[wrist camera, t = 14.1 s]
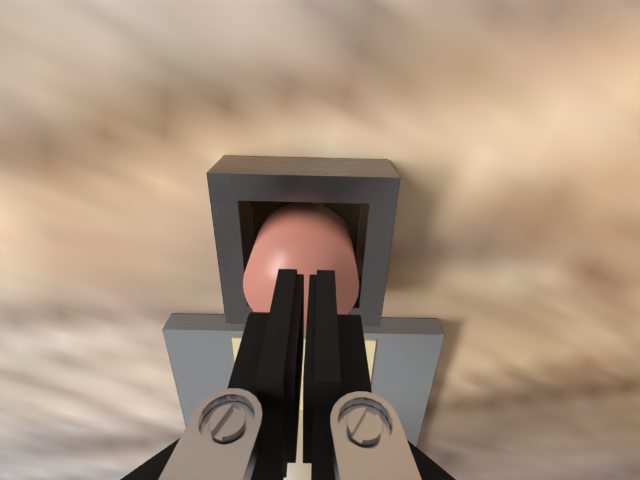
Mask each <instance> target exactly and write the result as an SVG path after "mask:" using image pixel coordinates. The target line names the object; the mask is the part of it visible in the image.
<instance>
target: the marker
mask: <svg viewBox="0 0 640 480" xmlns="http://www.w3.org/2000/svg"><path fill="white" fill-rule="evenodd" d="M284 480H311V463H303V410H299V425H298V439H297V454H296V463H288V465H287V476H286V478H284Z"/></svg>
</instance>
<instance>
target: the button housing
mask: <svg viewBox="0 0 640 480" xmlns="http://www.w3.org/2000/svg"><path fill="white" fill-rule="evenodd" d="M207 180H208V188H209V195H210V203H211V211H212V219H213V227H214V234H215V242H216V250H217V258H218V265H219V273H220V281H221V289H222V296H223V304H224V312H225V320H226V324H246V322H247V318H248V315H249V313H250V312H254V311H253V310H252V309H251V307H250V306H249V304H248V302H247V300H246V297H245V294H244V290H243V277H244V273H245V270H246V267H247V264H248V261H249V258H250V255H251V252H252V250H253V247H254V230H253V216H252V202H251V201H279V202H322V203H360V212H359V224H358V236H357V247H356V259H355V262H356V268H357V273H358V279H359V292H358V297H357V300H356V302H355V304H354V306H353V308H352V309H351V311H350V312H349V313H348V314H350V315H360V316H361V320H362V326H378V327H380V323H381V316H382V308H383V301H384V294H385V287H386V279H387V272H388V265H389V257H390V250H391V243H392V235H393V228H394V221H395V214H396V206H397V199H398V192H399V184H400V176H399V175H398V173H397V172H396V171H395V169H394V168H393V166H392V165H391V163H390V162H389V160H388V159H348V158H308V157H268V156H229V155H224V156H223V157H222V158H221V159H220V160H219V161H218V162H217V163H216V164H215V165H214V166H213V167H212V168H211V169H210V170H209V171H208V172H207Z"/></svg>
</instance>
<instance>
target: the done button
mask: <svg viewBox="0 0 640 480" xmlns="http://www.w3.org/2000/svg"><path fill="white" fill-rule="evenodd" d="M279 269H297V274H304V332H306V324H307V308H308V292H309V276H310V274H315V275H317V270H335V281H336V300H337V314H348V313H349V312H350V311H351V309H352V308H353V306H354V304H355V302H356V300H357V297H358V292H359V279H358V273H357V268H356V262H355V256H354V251H353V245H352V239H351V235H350V232H349V230H348V227H347V226H346V224H345V222H344V221H343V220H342V219H341V218H340V217H339V216H338V215H337V214H336V213H335V212H333V211H332V210H330V209H328V208H326V207H324V206H322V205H319V204H314V203H307V202H300V203H292V204H289V205H285V206H283V207H281V208H279V209H277V210H275V211H274V212H273V213H271V214H270V215H269V216H268V217H267V218H266V219H265V221H264V222H263V224H262V226H261V228H260V230H259V233H258V235H257V238H256V241H255V244H254V247H253V250H252V252H251V255H250V258H249V261H248V264H247V267H246V270H245V273H244V277H243V290H244V294H245V297H246V300H247V302H248V304H249V306H250V307H251V309H252V310H253V311H254V312H270V308H271V303H272V298H273V293H274V288H275V284H276V279H277V274H278V270H279Z"/></svg>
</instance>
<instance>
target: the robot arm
mask: <svg viewBox="0 0 640 480" xmlns="http://www.w3.org/2000/svg"><path fill="white" fill-rule="evenodd" d="M303 349H304V274H297V269H279V270H278V274H277V279H276V284H275V288H274V293H273V298H272V303H271V308H270V312H250V313H249V315H248V318H247V322H246V325H245V329H244V332H243V336H242V339H241V342H240V346H239V349H238V353H237V356H236V360H235V363H234V367H233V370H232V374H231V377H230V381H229V384H228V388H227V389H225V390H220V391H218V392H216V393H214V394H212V395H210V396H208V397H207V398H206V399H205V400H204V401H202V402H201V403H200V405H199V406H198V407H197V409H196V410H195V411H194V413H193V415H192V417H191V419H190V421H189V423H188V424H187V426H186V428H185V430H184V432H183V434H182V436H181V438H179V439H178V440H177V441H175V442H174V443H172V444H171V445H169V446H168V447H167V448H165V449H164V450H162V451H161V452H159V453H158V454H156V455H155V456H154V457H152V458H151V459H149V460H148V461H146V462H145V463H144V464H142V465H141V466H139V467H138V468H136V469H135V470H134V471H132V472H131V473H129V474H128V475H126V476H125V477H123V478H122V479H121V480H284V478H286V476H287V465H288V463H296V454H297V439H298V425H299V410H300V395H301V380H302V365H303ZM303 463H311V480H455V479H454V478H453V477H452V476H451V475H449V474H448V473H447V472H446V471H444V470H443V469H442V468H441V467H440V466H438V465H437V464H436V463H435V462H434V461H432V460H431V459H430V458H429V457H428V456H426V455H425V454H424V453H423V452H421V451H420V450H419V449H418V448H417V447H415V446H414V445H413V444H412V443H411V442H409V441H408V440H407V439H406V436H405V433H404V430H403V428H402V425H401V422H400V420H399V417H398V415H397V413H396V411H395V410H394V408H393V407H392V406H391V405H390V404H389V403H388V402H387V401H386V400H385V399H383V398H382V397H380V396H378V395H376V394H373V393H372V389H371V382H370V375H369V368H368V361H367V354H366V347H365V340H364V333H363V326H362V320H361V316H360V315H350V314H337V300H336V281H335V270H317V275H315V274H310V276H309V292H308V308H307V324H306V340H305V356H304V373H303Z"/></svg>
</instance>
